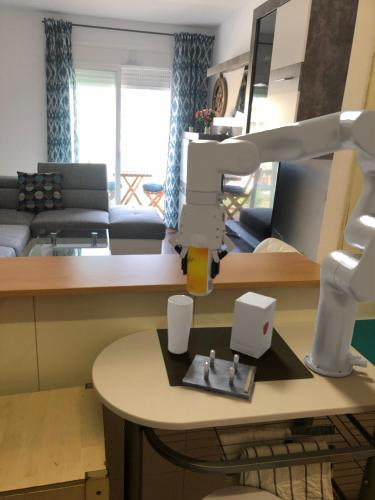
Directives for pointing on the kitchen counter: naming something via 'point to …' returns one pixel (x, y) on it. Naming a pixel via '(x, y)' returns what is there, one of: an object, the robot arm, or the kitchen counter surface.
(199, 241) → the beer can
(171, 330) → the drinking glass
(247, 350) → the supplement box
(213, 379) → the plate
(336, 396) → the kitchen counter surface
